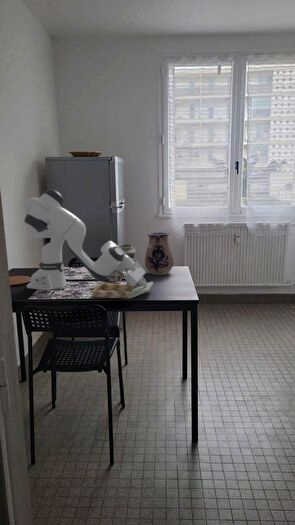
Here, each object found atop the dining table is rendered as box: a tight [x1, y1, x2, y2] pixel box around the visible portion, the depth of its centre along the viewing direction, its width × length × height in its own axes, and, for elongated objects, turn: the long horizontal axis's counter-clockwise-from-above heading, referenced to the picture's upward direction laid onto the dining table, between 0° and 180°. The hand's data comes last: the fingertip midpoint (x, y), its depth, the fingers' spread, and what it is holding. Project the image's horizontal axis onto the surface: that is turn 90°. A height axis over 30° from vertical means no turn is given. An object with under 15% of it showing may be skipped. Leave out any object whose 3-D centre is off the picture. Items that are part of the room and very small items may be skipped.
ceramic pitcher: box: [144, 231, 174, 276], centre depth 250 cm, size 18×21×25 cm
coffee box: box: [108, 268, 124, 282], centre depth 237 cm, size 9×6×16 cm
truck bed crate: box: [91, 282, 134, 299], centre depth 212 cm, size 18×14×4 cm
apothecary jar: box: [118, 243, 137, 259], centre depth 252 cm, size 12×12×18 cm
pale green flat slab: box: [126, 281, 154, 299], centre depth 209 cm, size 1×14×12 cm
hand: (146, 285), depth 207 cm, fingers closed
